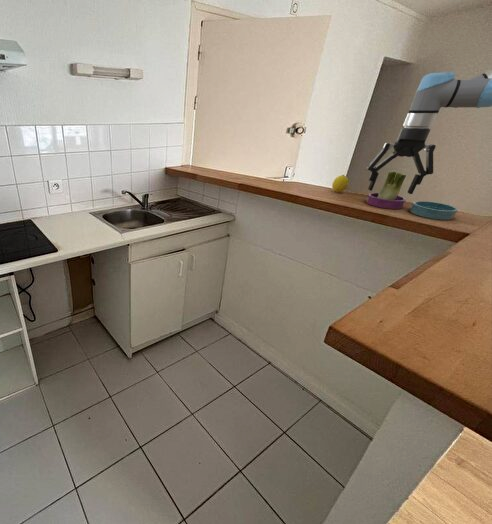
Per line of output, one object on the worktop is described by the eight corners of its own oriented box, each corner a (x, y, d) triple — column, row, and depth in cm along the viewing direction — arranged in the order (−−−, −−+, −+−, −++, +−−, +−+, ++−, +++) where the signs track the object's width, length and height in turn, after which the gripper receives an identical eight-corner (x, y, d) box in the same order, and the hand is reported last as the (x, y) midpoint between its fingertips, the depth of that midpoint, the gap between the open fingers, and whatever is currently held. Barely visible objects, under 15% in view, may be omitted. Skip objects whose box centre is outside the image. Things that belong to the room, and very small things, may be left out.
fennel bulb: (394, 206, 105) (409, 174, 100) (380, 206, 106) (393, 173, 100) (386, 202, 110) (399, 171, 105) (372, 201, 111) (385, 170, 105)
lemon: (344, 192, 125) (351, 174, 121) (343, 195, 121) (350, 176, 117) (330, 191, 127) (336, 172, 124) (329, 193, 124) (335, 175, 120)
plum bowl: (397, 203, 111) (401, 194, 109) (406, 211, 102) (410, 202, 100) (363, 200, 115) (366, 191, 113) (368, 207, 106) (372, 198, 105)
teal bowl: (444, 212, 101) (449, 203, 99) (458, 223, 92) (464, 213, 90) (405, 208, 105) (409, 199, 103) (415, 218, 96) (420, 208, 95)
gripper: (457, 127, 94) (426, 192, 104) (371, 126, 103) (350, 186, 113) (468, 129, 88) (434, 197, 98) (376, 127, 97) (353, 190, 107)
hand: (389, 191), depth 106 cm, fingers open, 11 cm apart
